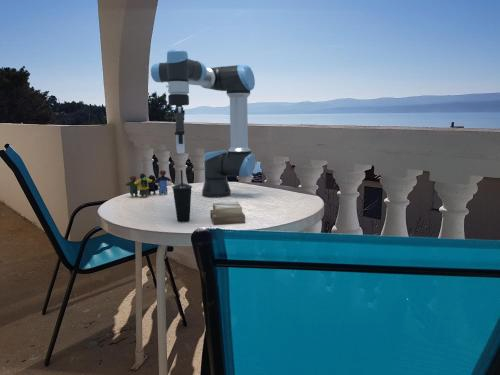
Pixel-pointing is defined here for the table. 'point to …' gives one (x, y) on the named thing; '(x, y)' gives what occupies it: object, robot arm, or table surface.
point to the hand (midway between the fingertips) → (180, 151)
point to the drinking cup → (182, 200)
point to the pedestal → (227, 213)
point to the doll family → (148, 185)
